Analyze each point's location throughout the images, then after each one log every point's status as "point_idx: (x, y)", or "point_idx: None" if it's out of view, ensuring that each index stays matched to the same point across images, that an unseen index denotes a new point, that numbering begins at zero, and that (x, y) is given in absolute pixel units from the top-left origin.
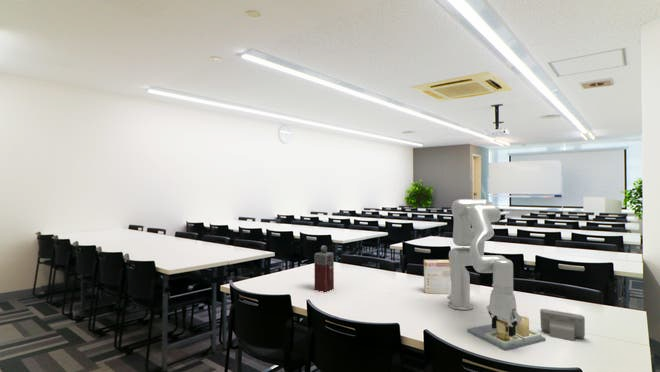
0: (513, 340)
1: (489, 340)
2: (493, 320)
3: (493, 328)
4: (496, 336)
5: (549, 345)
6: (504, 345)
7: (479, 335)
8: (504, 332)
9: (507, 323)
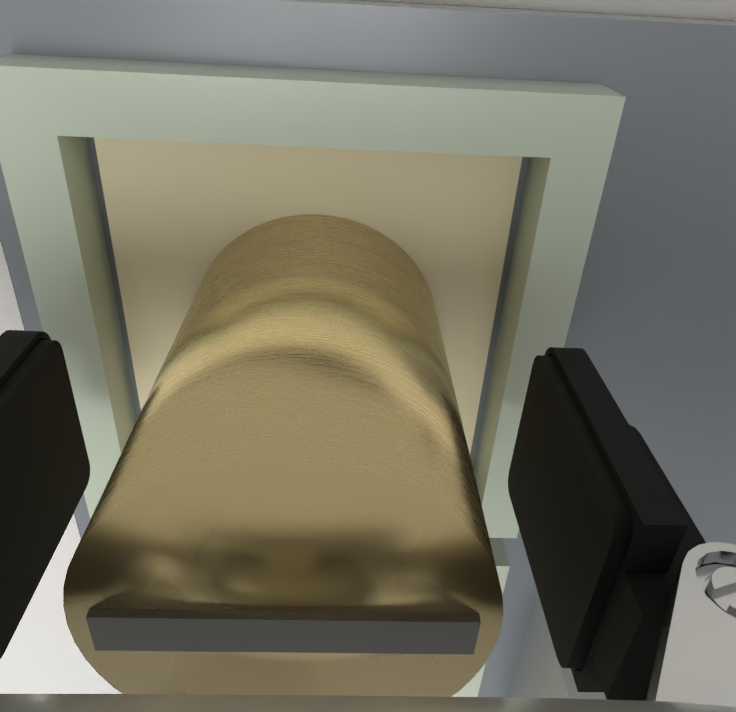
0: (69, 355)
1: (414, 6)
2: (608, 511)
3: (539, 356)
4: (441, 290)
5: (27, 666)
6: (17, 53)
7: (725, 25)
8: (173, 350)
9: (87, 617)
